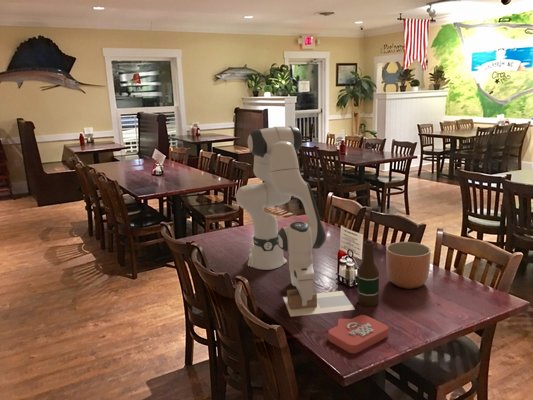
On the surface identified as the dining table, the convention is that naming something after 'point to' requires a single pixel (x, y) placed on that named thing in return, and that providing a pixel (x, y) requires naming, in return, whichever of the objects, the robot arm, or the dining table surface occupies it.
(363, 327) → the plaque
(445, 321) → the dining table surface
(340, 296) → the board
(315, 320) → the dining table surface
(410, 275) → the planter
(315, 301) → the walnut bar
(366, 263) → the beer bottle
